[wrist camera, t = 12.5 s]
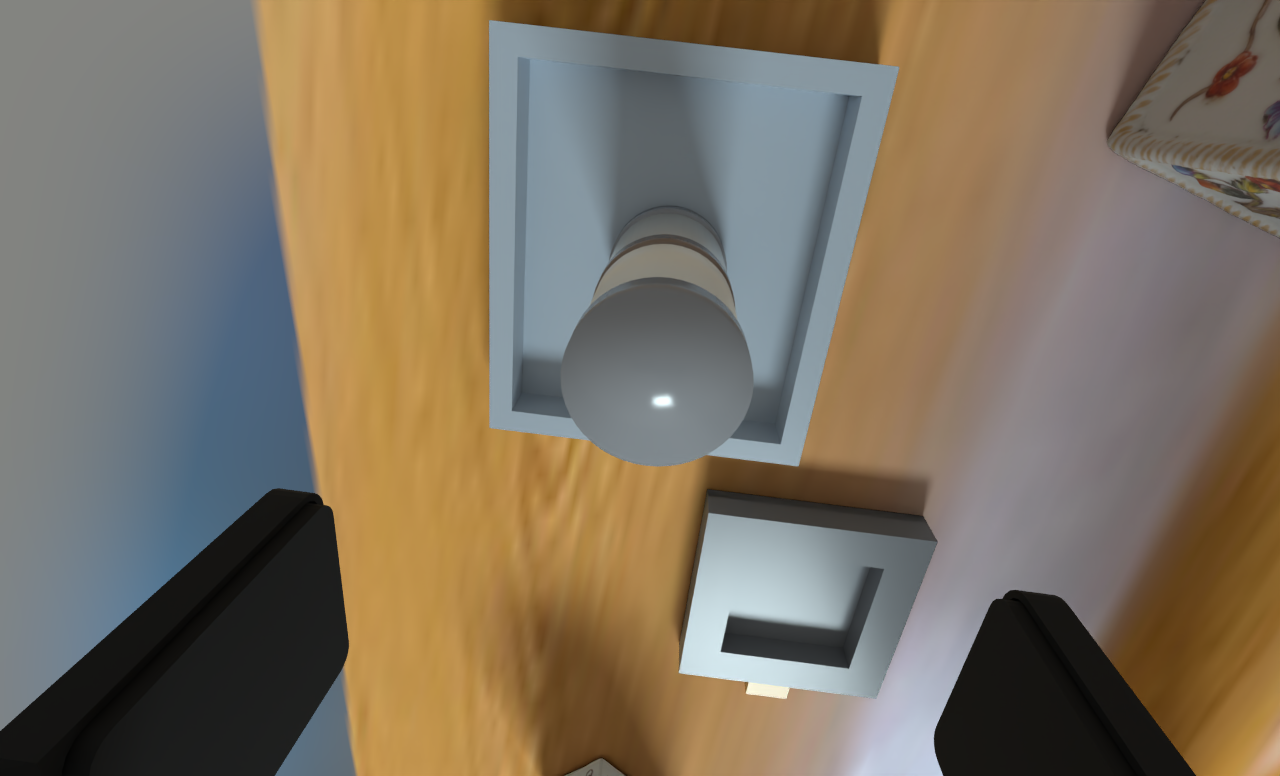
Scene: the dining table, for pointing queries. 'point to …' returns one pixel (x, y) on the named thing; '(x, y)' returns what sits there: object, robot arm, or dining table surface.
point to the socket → (800, 593)
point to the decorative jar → (1215, 112)
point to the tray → (673, 202)
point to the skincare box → (597, 769)
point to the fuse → (660, 345)
